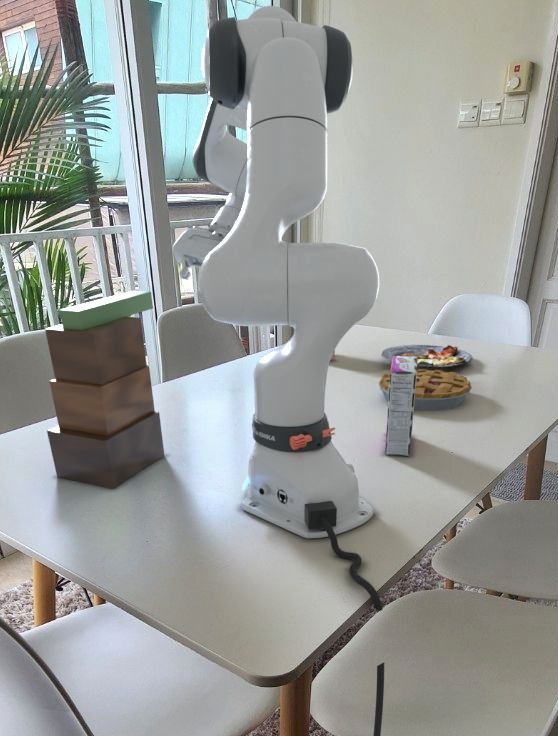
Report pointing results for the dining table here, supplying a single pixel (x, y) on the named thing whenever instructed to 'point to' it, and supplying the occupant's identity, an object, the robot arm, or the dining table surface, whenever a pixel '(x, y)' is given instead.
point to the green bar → (105, 310)
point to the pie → (434, 389)
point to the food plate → (430, 355)
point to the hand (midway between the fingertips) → (202, 281)
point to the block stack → (102, 403)
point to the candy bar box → (401, 405)
